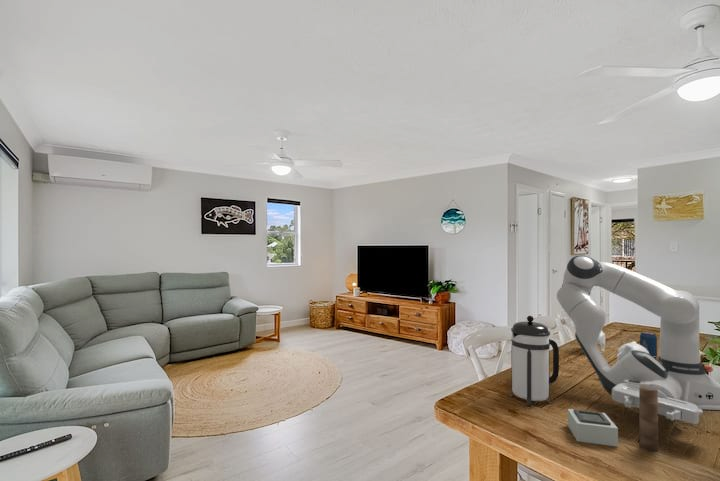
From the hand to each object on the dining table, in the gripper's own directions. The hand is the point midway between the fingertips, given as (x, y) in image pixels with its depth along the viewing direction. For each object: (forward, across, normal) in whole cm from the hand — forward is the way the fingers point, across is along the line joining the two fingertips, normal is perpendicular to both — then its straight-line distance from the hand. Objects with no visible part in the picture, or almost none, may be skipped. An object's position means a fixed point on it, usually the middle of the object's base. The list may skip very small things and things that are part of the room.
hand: (648, 410), depth 105 cm
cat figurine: (-93, +40, -10) cm, 101 cm away
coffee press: (-7, +34, -10) cm, 37 cm away
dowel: (+3, -1, -9) cm, 9 cm away
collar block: (+7, +12, -9) cm, 17 cm away
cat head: (-74, +18, -10) cm, 76 cm away
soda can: (-107, +18, -10) cm, 109 cm away
